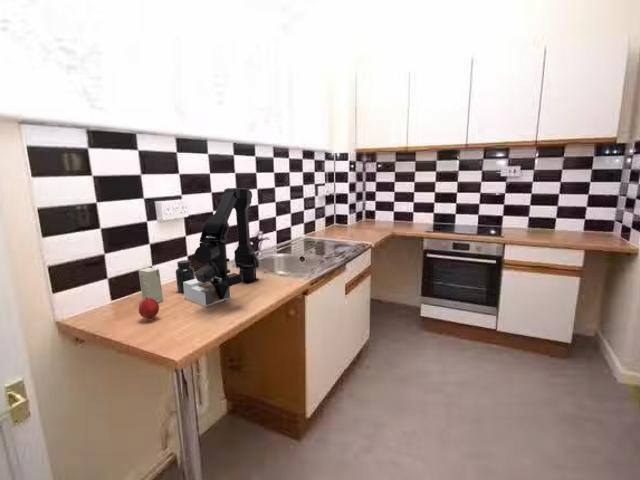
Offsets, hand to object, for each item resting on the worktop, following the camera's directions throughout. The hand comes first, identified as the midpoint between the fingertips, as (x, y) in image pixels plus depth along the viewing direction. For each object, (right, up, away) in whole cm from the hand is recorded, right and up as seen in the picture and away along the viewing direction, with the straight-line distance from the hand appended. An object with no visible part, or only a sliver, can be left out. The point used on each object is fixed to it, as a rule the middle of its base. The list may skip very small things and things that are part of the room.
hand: (221, 299), depth 120 cm
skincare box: (-26, -2, +3) cm, 26 cm away
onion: (-19, -5, -12) cm, 23 cm away
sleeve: (-7, -1, +6) cm, 9 cm away
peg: (-5, 0, +4) cm, 7 cm away
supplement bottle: (-18, +1, +14) cm, 23 cm away
